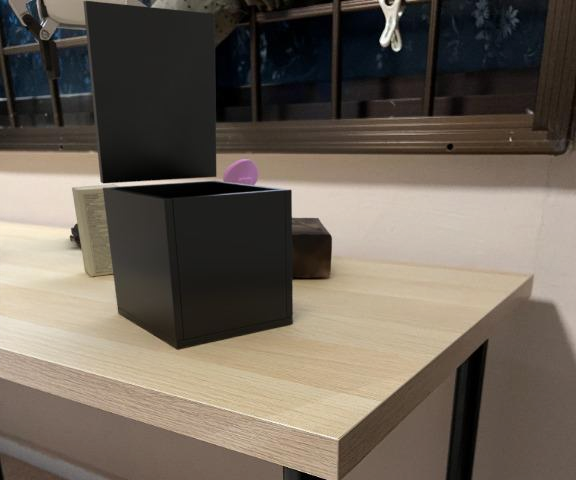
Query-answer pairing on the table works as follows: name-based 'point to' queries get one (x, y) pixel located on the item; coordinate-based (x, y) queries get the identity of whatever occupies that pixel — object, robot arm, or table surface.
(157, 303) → the trash can
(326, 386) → the table surface
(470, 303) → the table surface
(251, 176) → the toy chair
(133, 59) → the black lid
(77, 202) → the cosmetic box
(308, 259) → the dark brown block
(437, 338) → the table surface
